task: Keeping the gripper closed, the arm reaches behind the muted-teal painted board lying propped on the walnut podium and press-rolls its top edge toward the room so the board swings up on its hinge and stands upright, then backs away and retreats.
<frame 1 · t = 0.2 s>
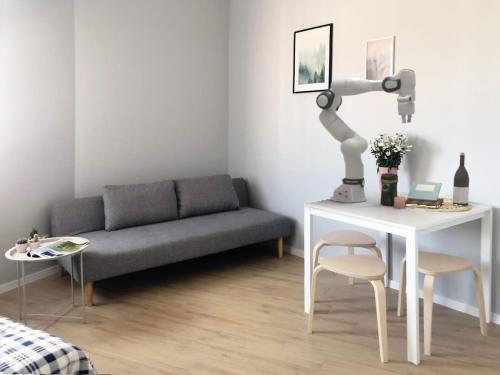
hand: (406, 122, 264), 47 cm above the table, fingers open, 8 cm apart
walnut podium: (423, 204, 269), on the table
coffee jar: (389, 204, 273), on the table
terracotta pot: (399, 207, 264), on the table
teal display board: (424, 191, 268), point 8 cm above the table, hinge at 35.0°
wine bottle: (460, 205, 266), on the table
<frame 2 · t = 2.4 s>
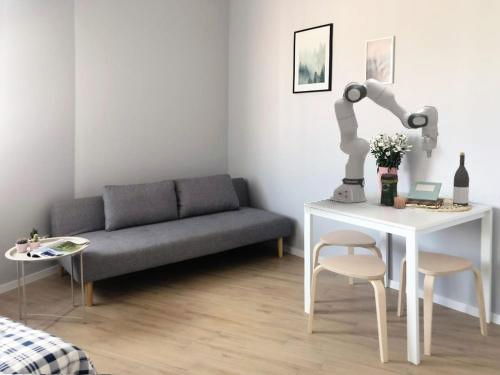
hand: (429, 157, 275), 26 cm above the table, fingers closed
nothing on the table moved.
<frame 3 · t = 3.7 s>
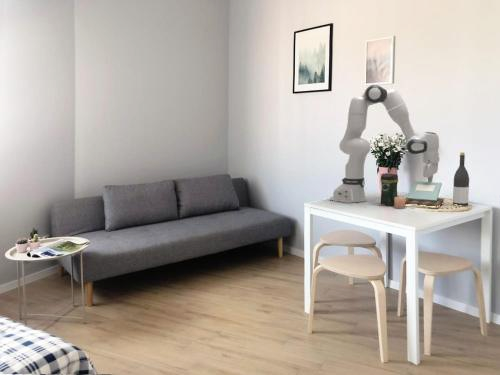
hand: (430, 182, 277), 11 cm above the table, fingers closed
nothing on the table moved.
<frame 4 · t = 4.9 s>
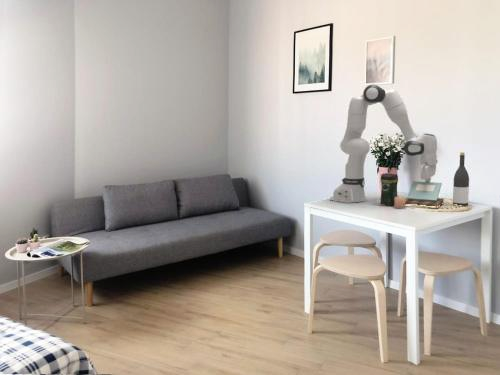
hand: (427, 184, 274), 11 cm above the table, fingers closed
teal display board: (424, 191, 268), point 8 cm above the table, hinge at 35.2°, touching gripper
everything else where it was.
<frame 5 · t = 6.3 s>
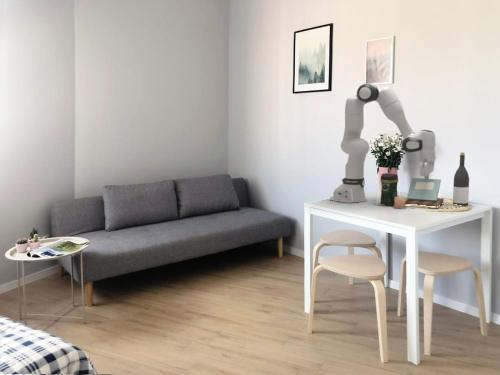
hand: (426, 181, 271), 13 cm above the table, fingers closed, pressing on teal display board
teal display board: (423, 189, 267), point 9 cm above the table, hinge at 48.1°, touching gripper
everything else where it was.
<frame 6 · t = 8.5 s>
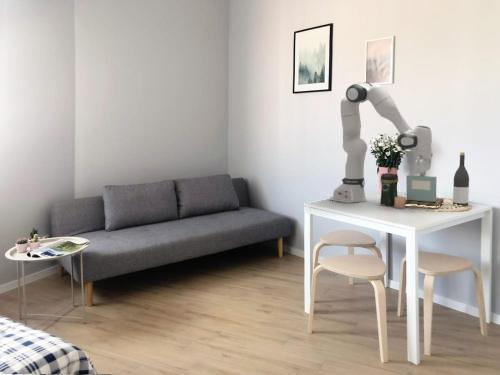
hand: (422, 179, 262), 16 cm above the table, fingers closed
teal display board: (421, 188, 261), point 11 cm above the table, hinge at 94.9°, touching gripper
everything else where it was.
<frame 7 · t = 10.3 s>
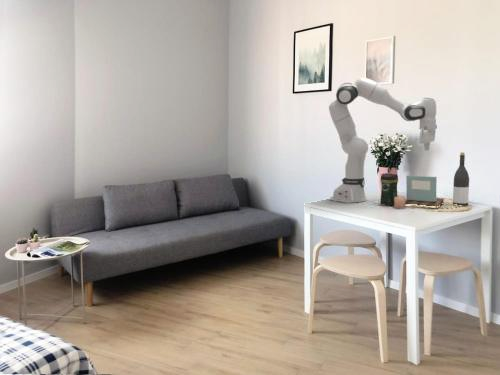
hand: (426, 150, 270), 31 cm above the table, fingers closed
teal display board: (421, 188, 261), point 11 cm above the table, hinge at 94.9°
everything else where it was.
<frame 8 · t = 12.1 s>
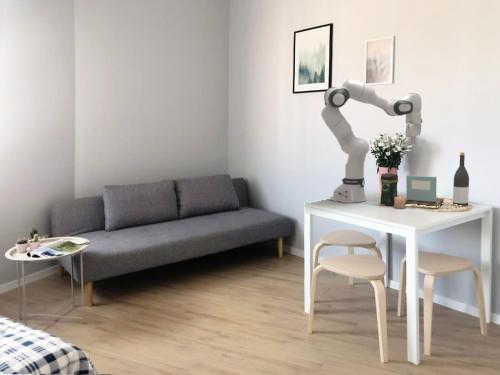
hand: (412, 143, 281), 34 cm above the table, fingers closed
nothing on the table moved.
at the end: teal display board at +95° (first picture: +35°); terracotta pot moved 0.1 cm from its start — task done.
